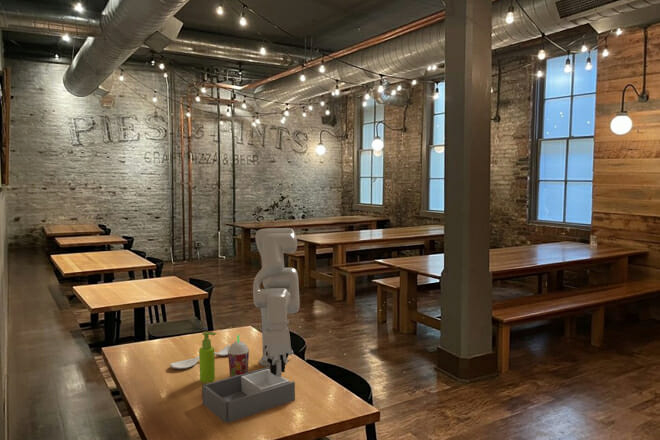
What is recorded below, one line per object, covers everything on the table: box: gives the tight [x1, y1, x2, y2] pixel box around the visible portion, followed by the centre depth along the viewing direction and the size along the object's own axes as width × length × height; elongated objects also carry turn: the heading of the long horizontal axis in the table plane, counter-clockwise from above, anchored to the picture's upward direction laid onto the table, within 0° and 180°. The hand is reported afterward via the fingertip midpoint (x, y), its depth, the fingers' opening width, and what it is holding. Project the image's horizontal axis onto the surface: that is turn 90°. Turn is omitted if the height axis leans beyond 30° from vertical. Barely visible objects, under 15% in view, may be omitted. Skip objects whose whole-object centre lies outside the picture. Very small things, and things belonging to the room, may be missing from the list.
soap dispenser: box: [198, 331, 217, 384], centre depth 205 cm, size 6×7×20 cm
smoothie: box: [227, 334, 250, 378], centre depth 201 cm, size 8×8×20 cm
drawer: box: [241, 360, 290, 395], centre depth 190 cm, size 13×15×11 cm
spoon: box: [169, 344, 231, 370], centre depth 227 cm, size 9×32×4 cm, turn 134°
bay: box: [201, 367, 296, 424], centre depth 185 cm, size 28×19×7 cm
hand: (277, 372), depth 193 cm, fingers closed on drawer, 3 cm apart
